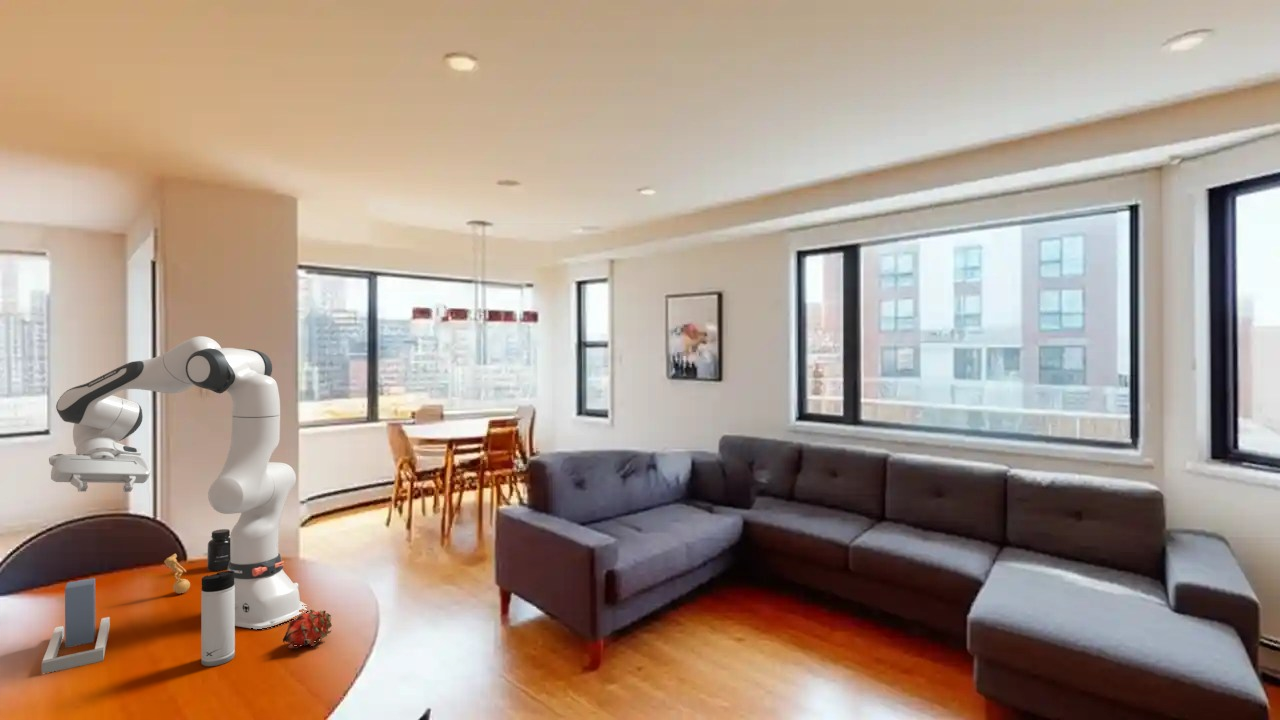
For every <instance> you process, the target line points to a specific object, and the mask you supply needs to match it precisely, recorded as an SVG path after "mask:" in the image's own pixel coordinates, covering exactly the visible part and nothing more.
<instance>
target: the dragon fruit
mask: <svg viewBox="0 0 1280 720" xmlns="http://www.w3.org/2000/svg"><path fill="white" fill-rule="evenodd" d="M331 616H332V614H329V613H326V610H320V611H315V610H313V609H311V608H310V610H309V612H307V613H303V614H300V615H298V617H297V618H296V619H294V620H292V621H289V622H288V623H289V624H288V626H287V630H286V631H285V635H284V636H283V638H282V643H283V644H285V643H289V644H288V646H287V648H288V649H290V648H293V649H299V648H298V647H300V645H304V646H307V645H309V646H310V645H311V646H313V645H314V646H315V645H317V644H318V643H319V642H320V641H319V639H320V638H321V639H323V638H326V637H327V636H328V635H329V634H331V633H332V630H329V629H330V628H331V627H332V623H331V621H332V617H331ZM314 641H316V642H314ZM318 641H319V642H318ZM294 645H297V646H294ZM311 646H310V647H311ZM314 646H313V647H314Z"/></svg>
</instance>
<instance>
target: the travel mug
mask: <svg viewBox="0 0 1280 720" xmlns="http://www.w3.org/2000/svg"><path fill="white" fill-rule="evenodd" d="M234 586H235V583H234V571H228V570H223V571H217V572H216V573H215V574H211V575H208V574H207V575H204V576H203V577H201V589H200V590H201V596H200V597H201V598H200V599H201V601H200V602H201V607H200V608H201V609H200V611H201V612H200V613H201V615H200V617H201V622H200V623H201V628H200V629H201V630H200V633H201V635H200V636H201V638H200V639H201V640H200V643H201V645H200V646H201V650H200V651H201V652H200V653H201V654H200V655H201V656H200V657H201V660H200V661H201V663H200V664H201V665H202V666H204V667H216V666H221V665H224V664H226V663H229V662H230V661H232V660H233V659H234V658H235V655H236V652H235V651H236V650H235V647H236V637H235V635H236V634H235V633H236V628H235V627H236V626H235V587H234Z"/></svg>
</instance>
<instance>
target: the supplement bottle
mask: <svg viewBox="0 0 1280 720" xmlns="http://www.w3.org/2000/svg"><path fill="white" fill-rule="evenodd" d="M230 535H231V532H230V529H227V528H224V529H223V528H222V529H217V530H213V531H211V536H210V537H211V539H210V540H209V541H208V543H207V557H206V558H207V563H206V564H207V566H206V567H207V570H208V571H210V572H222V571H226V570H228V565H229V561H230V559H231V558H230ZM225 569H226V570H225ZM221 570H222V571H221Z"/></svg>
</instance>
